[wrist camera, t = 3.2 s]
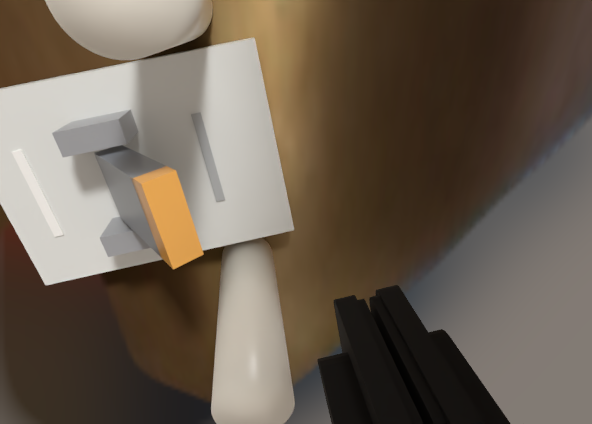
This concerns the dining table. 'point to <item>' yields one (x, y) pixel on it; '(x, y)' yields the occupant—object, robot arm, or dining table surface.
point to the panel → (147, 141)
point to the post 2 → (250, 341)
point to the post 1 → (131, 24)
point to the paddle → (151, 203)
